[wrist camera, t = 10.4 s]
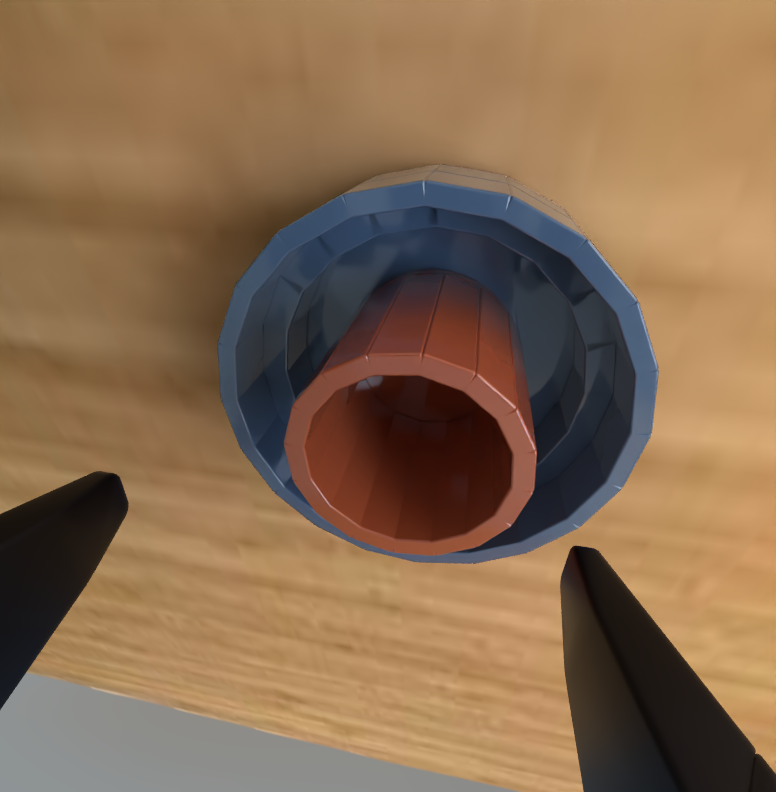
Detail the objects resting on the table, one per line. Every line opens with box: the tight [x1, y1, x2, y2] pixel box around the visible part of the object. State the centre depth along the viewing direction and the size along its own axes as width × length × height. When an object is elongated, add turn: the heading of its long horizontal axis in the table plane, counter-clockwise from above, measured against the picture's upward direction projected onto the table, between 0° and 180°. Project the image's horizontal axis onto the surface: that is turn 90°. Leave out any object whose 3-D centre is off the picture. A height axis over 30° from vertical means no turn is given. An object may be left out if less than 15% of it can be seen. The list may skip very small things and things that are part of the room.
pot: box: [284, 269, 537, 556], centre depth 15 cm, size 7×7×7 cm
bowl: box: [217, 164, 659, 564], centre depth 17 cm, size 13×13×5 cm
